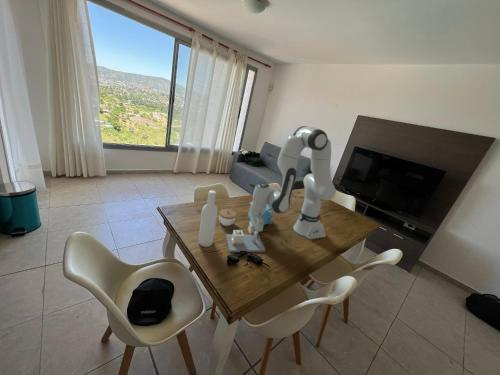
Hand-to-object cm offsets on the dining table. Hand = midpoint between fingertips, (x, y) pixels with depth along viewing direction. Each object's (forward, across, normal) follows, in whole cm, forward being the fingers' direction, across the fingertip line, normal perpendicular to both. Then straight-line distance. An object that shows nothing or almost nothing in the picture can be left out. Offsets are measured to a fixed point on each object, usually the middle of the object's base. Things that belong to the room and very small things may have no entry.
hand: (253, 228), depth 127 cm
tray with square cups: (+2, -11, +7) cm, 13 cm away
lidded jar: (+3, +9, +15) cm, 18 cm away
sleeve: (+2, 0, 0) cm, 2 cm away
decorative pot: (+3, +13, -8) cm, 15 cm away
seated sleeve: (+1, -11, +12) cm, 17 cm away
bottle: (+2, -10, +29) cm, 31 cm away
